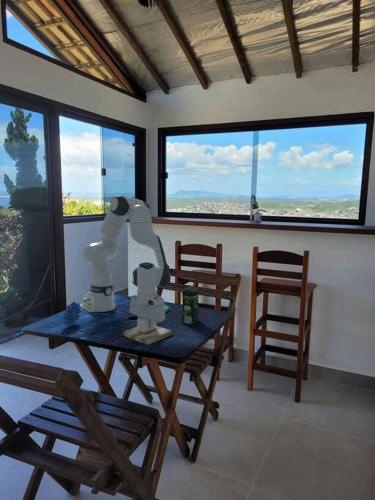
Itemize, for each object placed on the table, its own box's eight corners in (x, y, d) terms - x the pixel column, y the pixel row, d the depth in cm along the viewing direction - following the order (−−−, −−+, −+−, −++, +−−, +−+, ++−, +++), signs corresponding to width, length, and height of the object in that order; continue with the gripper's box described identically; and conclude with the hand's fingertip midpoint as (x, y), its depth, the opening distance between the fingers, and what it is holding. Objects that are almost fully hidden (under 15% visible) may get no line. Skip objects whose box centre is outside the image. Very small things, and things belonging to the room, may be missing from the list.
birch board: (123, 335, 167) (123, 331, 167) (147, 326, 179) (147, 322, 179) (147, 344, 157) (147, 340, 157) (171, 334, 169) (171, 330, 169)
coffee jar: (186, 318, 194) (187, 284, 191) (200, 320, 191) (201, 286, 188) (178, 323, 185) (179, 288, 183) (192, 326, 182) (193, 290, 179)
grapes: (74, 320, 186) (73, 298, 184) (84, 322, 183) (83, 300, 181) (57, 327, 176) (56, 303, 174) (67, 330, 173) (66, 305, 171)
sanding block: (137, 331, 167) (137, 318, 166) (149, 326, 173) (149, 314, 172) (144, 333, 164) (144, 321, 163) (156, 329, 170) (156, 316, 169)
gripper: (126, 295, 170) (126, 323, 172) (157, 303, 157) (157, 333, 159) (136, 292, 175) (136, 320, 177) (167, 300, 162) (167, 329, 164)
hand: (146, 326), depth 168 cm, fingers closed on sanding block, 4 cm apart
